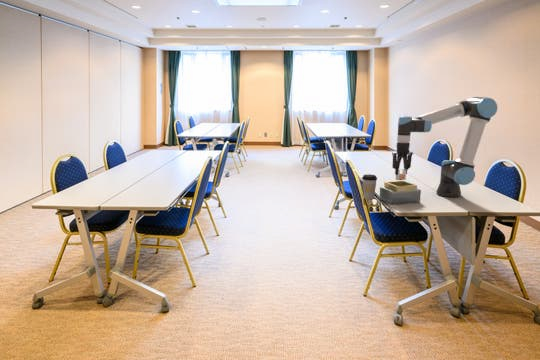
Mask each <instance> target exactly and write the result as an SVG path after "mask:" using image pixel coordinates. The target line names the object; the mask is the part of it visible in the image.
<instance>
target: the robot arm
mask: <svg viewBox="0 0 540 360" xmlns="http://www.w3.org/2000/svg"><path fill="white" fill-rule="evenodd" d="M497 112H498V104H497V101H495V99H493V98H492V97H486V96H474V97H469V98H468V99H464V100H461V101H458V102H456V104H454V105H451V106H448V107H444V108H441V109H437V110H434V111H432V112H428V113H425V114H424V113H423V114H421V115H419V116H415V117H412V116H410V115H409V116H408V115H407V116H406V115H403V116H400V117H398V123H397V136H396V137H397V138H396V140H397V142H396V150H395V152H391V155H392V169H394V175H395V181H400V180H399V175H400V174H403V175H404V179H403V180H402V181H406V178H407V174H408V170H409V169H410V168H411V165H412V156H413V155H414V152H413V151H410V148H411V147H410V146H411V143H410V142H411V133H430V131H432V125H436V124H439V123H441V122H444V121H448V120H450V119H451V120H452V119H453V118H454V119H455V118H458V117H460V118H464V117H468V116H469V117H468V119H469V120H470V122H469V125H468V128H467V131H466V134H465V137H464V140H463V144H462V147H461V150H460V153H459V156H458V158H457V159H454V160H453V159H452V160H451V159H448V160H446V159H445V160H443V161H441V165H440V166H441V168H440V181H439V185H438V186H437V189H436V191H435V193H436V195H437V196H440V197H445V198H459V197H461V196H462V191H461V186H466V185H467V186H468V185H469V184H471V183H472V182H473V181H474V180H475V177H476V172H475V170H474V169H475V166H476V165H475V163H474V161H475V158H476V154H477V152H478V148H479V145H480V143H481V139H482V137H483V134H484V130H485V129H486V128H485V127H486V125H487V124H488V123H490V120H491V118H492V117H494V116H495V115H496V114H497ZM401 161H402V162H403V168H402V173H400V172H401V171H400V170H401V169H400V166H401Z"/></svg>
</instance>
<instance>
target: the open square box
mask: <svg viewBox="0 0 540 360" xmlns="http://www.w3.org/2000/svg"><path fill="white" fill-rule="evenodd" d="M383 182H384V183H383V184H384V186H380V187H379V197H378V198H379V199H378V200H380V201H382V202H385V203H387V204H389V205H391V206H394V204H396V205H405V204H417V203H421V195H422V190H421V189H419V188H418V185H417V184H415V183H412V182H409V181H406V180H393V181H383Z"/></svg>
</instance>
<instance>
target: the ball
mask: <svg viewBox="0 0 540 360" xmlns="http://www.w3.org/2000/svg"><path fill="white" fill-rule="evenodd" d="M403 179H404V175H403V174H402V173H400V175H399V180H398V181H404V180H403Z"/></svg>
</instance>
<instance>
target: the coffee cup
mask: <svg viewBox="0 0 540 360" xmlns="http://www.w3.org/2000/svg"><path fill="white" fill-rule="evenodd" d="M361 179H362V192H363V199H364V200H367V201H372V200H374V198H375V192H376V186H377V181H378V177H377V175H375V174H363V176H362V178H361Z"/></svg>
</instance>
